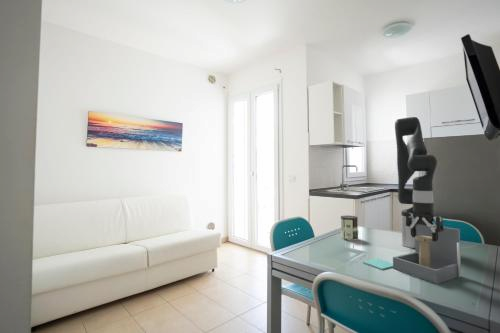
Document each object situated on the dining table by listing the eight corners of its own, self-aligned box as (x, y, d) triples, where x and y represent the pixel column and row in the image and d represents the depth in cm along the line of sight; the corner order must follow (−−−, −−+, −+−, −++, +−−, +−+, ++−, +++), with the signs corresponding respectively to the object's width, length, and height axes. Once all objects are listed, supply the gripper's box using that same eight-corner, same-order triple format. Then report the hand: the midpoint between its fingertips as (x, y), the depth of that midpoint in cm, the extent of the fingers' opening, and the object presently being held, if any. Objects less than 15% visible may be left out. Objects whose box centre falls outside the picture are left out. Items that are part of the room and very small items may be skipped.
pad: (377, 259, 127) (377, 258, 127) (396, 266, 118) (396, 264, 118) (363, 262, 123) (363, 261, 123) (382, 270, 114) (381, 268, 114)
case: (417, 262, 123) (415, 222, 123) (463, 276, 106) (462, 229, 106) (393, 268, 116) (392, 225, 116) (439, 284, 99) (437, 234, 99)
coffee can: (354, 236, 173) (353, 215, 173) (360, 240, 163) (360, 218, 163) (338, 236, 173) (338, 215, 174) (344, 240, 163) (343, 218, 163)
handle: (415, 269, 115) (414, 235, 115) (433, 271, 112) (432, 236, 112) (416, 272, 110) (415, 237, 111) (435, 275, 107) (434, 239, 108)
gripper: (446, 202, 107) (447, 241, 106) (412, 199, 120) (413, 234, 119) (435, 203, 104) (436, 244, 103) (401, 200, 117) (402, 236, 116)
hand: (423, 239), depth 111 cm, fingers open, 8 cm apart
